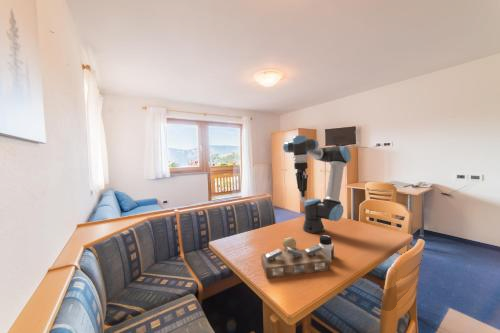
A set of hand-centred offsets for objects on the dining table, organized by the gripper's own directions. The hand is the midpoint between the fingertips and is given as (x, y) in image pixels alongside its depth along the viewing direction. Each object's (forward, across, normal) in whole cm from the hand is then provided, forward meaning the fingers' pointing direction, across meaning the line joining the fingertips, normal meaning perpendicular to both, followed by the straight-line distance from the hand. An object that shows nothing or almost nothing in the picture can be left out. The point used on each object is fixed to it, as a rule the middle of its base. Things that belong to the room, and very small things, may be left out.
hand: (302, 201), depth 116 cm
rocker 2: (+21, +16, -12) cm, 29 cm away
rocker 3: (+21, +16, -2) cm, 26 cm away
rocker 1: (+21, +15, -23) cm, 35 cm away
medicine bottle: (+30, +11, +8) cm, 33 cm away
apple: (+29, -4, -8) cm, 31 cm away
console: (+29, +16, -12) cm, 35 cm away
